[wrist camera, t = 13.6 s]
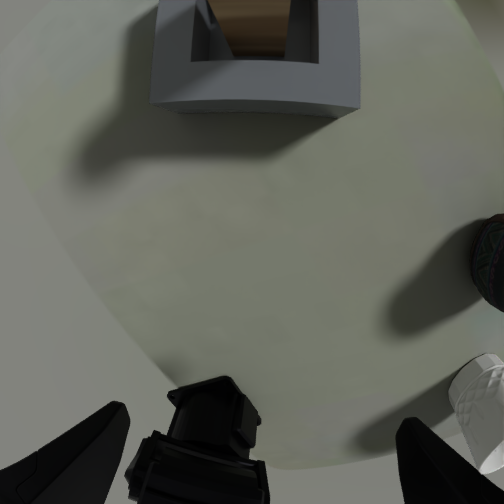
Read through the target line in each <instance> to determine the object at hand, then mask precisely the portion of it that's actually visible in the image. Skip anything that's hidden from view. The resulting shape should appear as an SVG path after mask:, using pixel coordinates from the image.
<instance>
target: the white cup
mask: <svg viewBox="0 0 504 504" xmlns="http://www.w3.org/2000/svg"><path fill="white" fill-rule="evenodd" d="M448 394H449V401H450V403H451V405H452V407H453V409H454V411H455V413H456V417H457V420H458V422H459V425H460V426H461V429H462V432H463V434H464V437H465V439H466V442H467V444H468V447H469V449H470V451H471V454H472V456H473V459H474V461H475V464H476V467H477V469H478V471H479V472H480V473H481V474H488V473H491V472H494V471H496V470H498V469H500V468H501V467H503V466H504V363H503V362H502V361H501V360H500V359H499V358H498V357H497V356H496V355H495V354H484V355H481V356H479V357H477V358H475V359H473V360H472V361H471V362H469V363H468V364H467V365H466V366H464V367H463V368H462V369H461V371H460V372H459V373H458V374H457V375H456V377H455V378H454V379H453V381H452V383H451V386H450V388H449V390H448Z"/></svg>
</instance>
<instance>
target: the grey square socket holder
mask: <svg viewBox="0 0 504 504" xmlns="http://www.w3.org/2000/svg"><path fill="white" fill-rule="evenodd" d="M149 104H152V105H155V106H158V107H161V108H164V109H167V110H170V111H172V112H175V113H202V112H258V113H282V114H298V115H311V116H322V117H331V118H341V117H343V116H345V115H347V114H349V113H352V112H354V111H356V110H358V109H360V37H359V19H358V5H357V0H291V2H290V11H289V20H288V29H287V38H286V47H285V56H284V57H278V56H233V54H232V52H231V49H230V47H229V45H228V43H227V40H226V38H225V36H224V34H223V32H222V30H221V27H220V25H219V23H218V21H217V19H216V17H215V15H214V13H213V11H212V8H211V6H210V4H209V2H208V0H159V5H158V12H157V19H156V27H155V36H154V45H153V55H152V67H151V80H150V96H149Z"/></svg>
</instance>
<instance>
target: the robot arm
mask: <svg viewBox="0 0 504 504" xmlns="http://www.w3.org/2000/svg"><path fill="white" fill-rule="evenodd" d="M225 381H226V382H228V383H226V382H225ZM167 397H168V399H169V400H170V401H171V403H172V404H173V405H174V406H175V407H176V410H175V413H174V416H173V419H172V422H171V424H170V427H169V430H168V433H167V435H164V434H161V432H159V431H156V430H154V431H153V433H152V435H151V437H148V438H144V439H143V440H142V442H141V444H140V447H139V449H138V451H137V454H136V456H135V457H134V459H133V460H132V462H131V463H130V465H129V467H128V468H127V470H126V472H125V475H124V477H125V478H126V480H127V482H128V484H129V486H128V489H129V490H130V491H129V496H128V499H131V500H133V501H137V504H270V493H269V487H268V480H267V474H266V467H265V461H261V460H257V461H255V460H251V459H249V453H250V448H254V446H255V443H256V430H257V426H259V425H260V424H261V418H260V416H259V415H258V411H257V410H256V409H255V407H254V406H253V404H252V403H251V402H250V400H249V399H248V398H247V396H246V395H245V394H243V393H242V392H241V391H240V389H239V388H238V386H237V385H236V384H235V382H234V381H233V379H232V378H231V377H229V376H223V377H220V378H216V379H213V380H209V381H206V382H202V383H198V384H195V385H191V386H187V387H183V388H179V389H175V390H171V391H169V392H168V394H167ZM129 427H130V417H129V414H128V411H127V408H126V406H125V404H124V403H122V402H118V401H112V402H110V403H108V404H107V405H106V406H104V407H102V408H101V409H99V410H98V411H97V412H95V413H94V414H92V415H91V416H89V417H88V418H86V419H85V420H83V421H82V422H80V423H79V424H77V425H76V426H74V427H73V428H71V429H70V430H68V431H67V432H65V433H64V434H62V435H60V436H59V437H57V438H56V439H54V440H53V441H51V442H50V443H48V444H46V445H45V446H43V447H42V448H40V449H39V450H38V451H35V452H34V453H32V454H31V455H29V456H27V457H25V458H24V459H22V460H20V461H18V462H17V463H14V464H12V465H10V466H8V467H6V468H4V469H2V470H0V504H104V503H105V500H106V498H107V495H108V492H109V489H110V487H111V484H112V482H113V479H114V477H115V474H116V471H117V469H118V466H119V463H120V461H121V457H122V453H123V449H124V446H125V441H126V438H127V434H128V430H129ZM395 439H396V448H397V458H398V469H399V476H400V482H401V487H402V492H403V497H404V502H405V504H504V491H503V490H502V489H500V488H499V487H497V486H496V485H495V484H494V483H492V482H491V481H490V480H489V479H487V478H486V477H485V476H484V475H483V474H481V473H480V472H479V471H478V470H477V469H476V468H474V467H473V466H472V465H471V464H470V463H469V462H467V461H466V460H465V459H464V458H463V457H462V456H461V455H459V454H458V453H457V452H456V451H455V450H454V449H452V448H451V447H450V446H449V445H448V444H447V443H445V441H443V440H442V439H441V438H440V437H439V436H438V435H437V434H435V433H434V432H433V431H432V430H431V429H430V428H429V427H427V426H426V425H425V424H424V423H423V422H422V421H421V420H419V419H418V418H417V417H409V418H405V419H404V420H403V422H402V423H401V425H400V427H399V429H398V431H397V433H396V437H395Z"/></svg>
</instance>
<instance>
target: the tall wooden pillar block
mask: <svg viewBox="0 0 504 504" xmlns="http://www.w3.org/2000/svg"><path fill="white" fill-rule="evenodd" d="M208 2H209V4H210V6H211V8H212V11H213V13H214V15H215V17H216V19H217V21H218V23H219V25H220V27H221V30H222V32H223V34H224V36H225V38H226V40H227V43H228V45H229V47H230V49H231V52H232V54H233V56H278V57H284V56H285V47H286V38H287V29H288V20H289V11H290V2H291V0H208Z"/></svg>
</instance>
